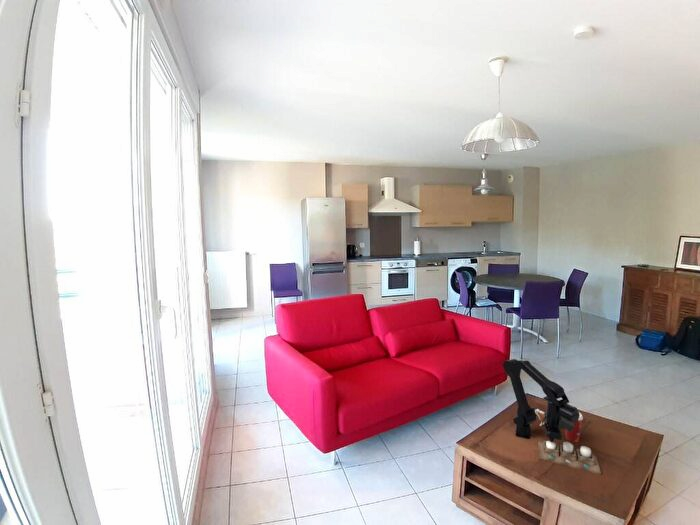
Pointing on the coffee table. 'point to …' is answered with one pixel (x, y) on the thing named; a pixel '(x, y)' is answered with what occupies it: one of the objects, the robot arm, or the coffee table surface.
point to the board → (568, 458)
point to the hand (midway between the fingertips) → (551, 441)
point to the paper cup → (575, 431)
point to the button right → (585, 452)
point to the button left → (550, 445)
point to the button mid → (568, 447)
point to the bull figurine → (540, 416)
